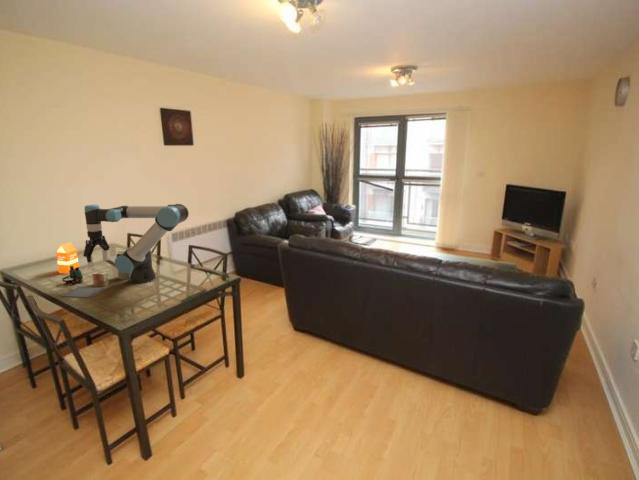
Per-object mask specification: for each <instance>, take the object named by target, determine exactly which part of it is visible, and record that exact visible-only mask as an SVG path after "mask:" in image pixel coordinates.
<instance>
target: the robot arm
mask: <svg viewBox="0 0 639 480" xmlns="http://www.w3.org/2000/svg"><path fill="white" fill-rule="evenodd" d="M189 214H190V213H189V210H188V208H187V207H186V206H185V205H184V204H181V203H176V204H174V203H173V204H167V205H164V206H163V205H162V206H161V205H160V206H159V205H157V206H156V205H153V206H152V205H151V206H148V205H147V206H146V205H145V206H144V205H143V206H141V205H140V206H138V205H136V206H135V205H133V206H132V205H131V206H129V205H121V206H117V207H116V206H115V207H112V208H100V205H98V204H87V205H85V206H84V216H85V223H86V224H85V225H86V230H87V231H86V232H87V237H88V238H89V240H88V239H85V247H84V251H83V255H82V256H83V257H85V258H86V261H87V267H88V268H93V267H94V260H93V259H94V258H93V256H92V254H93V252H94V250H95V248H96V247H97V246H99V247H100V249H102V251H101V253H102V261H108V257H109V256H108V254H109V253H108V251H109V250H110V245H109V244H108V241H107V239H106V237H105V235H103V230H102V229H103V228H102V222H106V223H107V222H108V223H118V222H119V221H120V220H121V219H154V221H155V222H154V223H153V224H152V225H151V226H150V227H149V229H147V230H146V232H144V234H143V235H142V236H141V238H139V239H138V240H137V242H135V243H134V245H132V246H130V247H127V248H126V250H124V251H125V252H124V253H123V254H122V255H119V256H118V257H117V258H116V259H115V264H114V266H115V268H116V270H117V271H118V270H119V271H120V272H122V273H129V272H132V273H131V277H130V278H129V279H130V282H131V283H135V284H143V283H144V282H145V283H149V282H148V281H150V282H152V281H151V280H153V279H155V278H156V279H157V277H156V276H157V275H156V272H155V270H154V268H153V261H152V260H153V259H152V249H153V248H154V246H156V244H157V243H158V242H159V241H161V239H162V238H163V237H164V236H165V234H167V233H168V232H172V231H173V230H174V229H175V228H176V227H177V226H178V225H179V224H181V223H183V222H185V221H186V220H188V218H189V216H190V215H189ZM94 268H95V267H94ZM156 279H155V280H156ZM153 281H154V280H153ZM145 283H144V284H145Z"/></svg>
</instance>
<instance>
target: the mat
mask: <svg viewBox="0 0 639 480" xmlns="http://www.w3.org/2000/svg"><path fill="white" fill-rule="evenodd" d="M104 290H105V287H97V286H96V287H95V286H91V287H90V286H77V287H75V288H73V289H72V290H69V291H67V292H66V293H63V294H61V295H60V297H61V298H64V297H66V298H78V297H85V299H88V298H91V297H93V296H94V295H96V294H98V293H99V292H102V291H104ZM92 295H93V296H92Z"/></svg>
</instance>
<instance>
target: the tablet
mask: <svg viewBox="0 0 639 480" xmlns="http://www.w3.org/2000/svg"><path fill="white" fill-rule="evenodd" d="M116 257H117V254H116V255H112V256H108V260H109V261H108V260H107V261H108V262H110V261H111V262H110V263H112V262H113V263H112V264H114V265H115V259H116Z"/></svg>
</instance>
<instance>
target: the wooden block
mask: <svg viewBox="0 0 639 480" xmlns="http://www.w3.org/2000/svg"><path fill="white" fill-rule="evenodd" d="M92 281H93V287H95V286H96V287H106V286H107V285H109V284H110V283H109V277H108V271H95V272H93V273H92Z"/></svg>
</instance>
